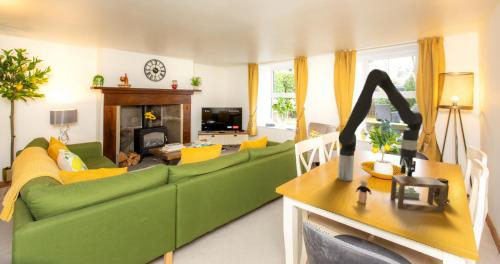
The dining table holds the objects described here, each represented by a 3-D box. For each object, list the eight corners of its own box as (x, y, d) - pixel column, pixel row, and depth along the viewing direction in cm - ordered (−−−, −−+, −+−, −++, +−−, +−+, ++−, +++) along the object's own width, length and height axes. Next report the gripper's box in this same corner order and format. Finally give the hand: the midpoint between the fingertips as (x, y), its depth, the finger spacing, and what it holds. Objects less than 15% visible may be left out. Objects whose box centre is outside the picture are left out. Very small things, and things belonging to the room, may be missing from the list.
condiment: (431, 201, 132) (433, 179, 131) (432, 196, 139) (435, 176, 137) (448, 205, 128) (451, 182, 126) (449, 199, 134) (451, 178, 132)
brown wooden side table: (398, 208, 124) (401, 182, 122) (390, 199, 135) (392, 175, 133) (443, 212, 120) (446, 185, 118) (431, 201, 131) (433, 177, 130)
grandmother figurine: (354, 203, 130) (356, 180, 129) (355, 200, 134) (356, 177, 132) (371, 205, 127) (372, 182, 126) (370, 202, 131) (372, 179, 129)
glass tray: (395, 196, 138) (396, 188, 138) (391, 192, 144) (392, 184, 144) (419, 198, 136) (419, 189, 135) (414, 194, 142) (414, 185, 141)
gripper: (396, 144, 144) (394, 171, 146) (407, 150, 130) (403, 179, 132) (411, 145, 142) (407, 172, 145) (422, 151, 128) (419, 180, 131)
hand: (405, 175), depth 139 cm, fingers open, 8 cm apart
